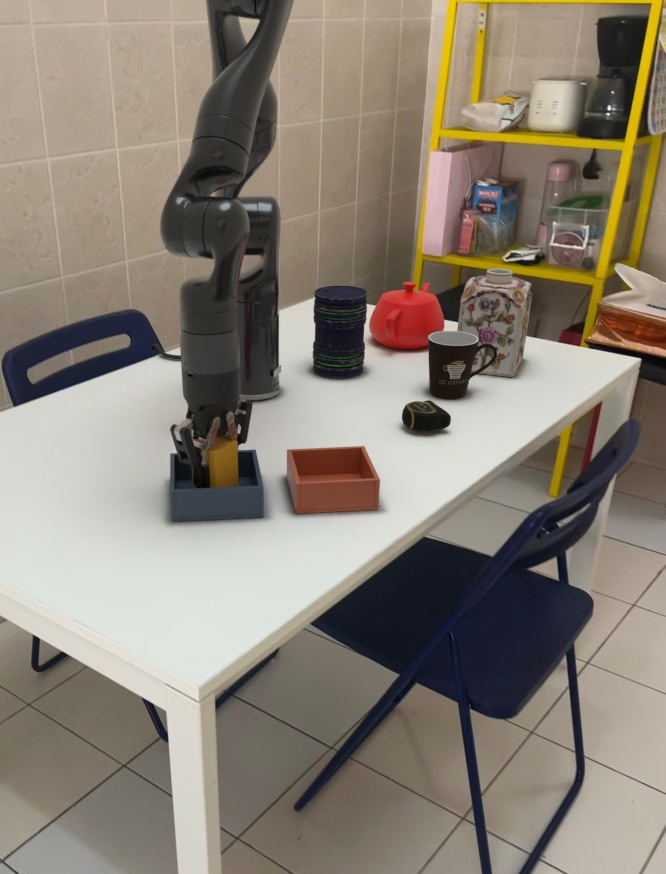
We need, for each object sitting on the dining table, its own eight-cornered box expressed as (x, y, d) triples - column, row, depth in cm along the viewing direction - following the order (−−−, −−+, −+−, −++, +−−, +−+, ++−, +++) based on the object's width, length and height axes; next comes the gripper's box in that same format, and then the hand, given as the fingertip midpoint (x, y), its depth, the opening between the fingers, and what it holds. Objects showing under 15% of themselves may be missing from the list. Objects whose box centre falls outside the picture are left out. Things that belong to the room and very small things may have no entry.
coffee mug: (418, 397, 155) (423, 342, 150) (429, 382, 162) (434, 328, 157) (484, 406, 151) (492, 349, 146) (493, 390, 158) (500, 335, 153)
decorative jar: (451, 371, 167) (461, 275, 158) (463, 353, 176) (473, 261, 167) (515, 378, 163) (529, 280, 154) (524, 360, 172) (538, 266, 163)
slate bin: (172, 521, 116) (169, 491, 114) (172, 481, 126) (170, 453, 124) (263, 517, 117) (263, 487, 115) (256, 477, 127) (255, 449, 125)
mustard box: (216, 506, 119) (214, 452, 115) (193, 496, 121) (190, 443, 117) (238, 494, 122) (237, 441, 118) (215, 485, 124) (212, 433, 120)
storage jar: (372, 367, 169) (377, 289, 162) (349, 382, 162) (352, 301, 154) (327, 359, 174) (329, 283, 166) (302, 373, 166) (303, 294, 159)
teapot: (424, 363, 171) (429, 300, 165) (349, 352, 177) (352, 292, 171) (459, 329, 190) (465, 272, 184) (391, 321, 196) (395, 265, 190)
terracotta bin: (295, 513, 118) (296, 483, 115) (286, 477, 127) (286, 449, 125) (378, 509, 118) (380, 479, 116) (362, 474, 128) (364, 445, 126)
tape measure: (451, 433, 141) (453, 411, 139) (412, 438, 139) (414, 416, 137) (431, 418, 146) (433, 397, 145) (394, 423, 145) (395, 401, 143)
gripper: (226, 343, 119) (229, 458, 127) (149, 370, 109) (158, 492, 118) (268, 354, 114) (269, 472, 123) (192, 383, 105) (199, 509, 114)
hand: (215, 481), depth 120 cm, fingers closed on mustard box, 4 cm apart
